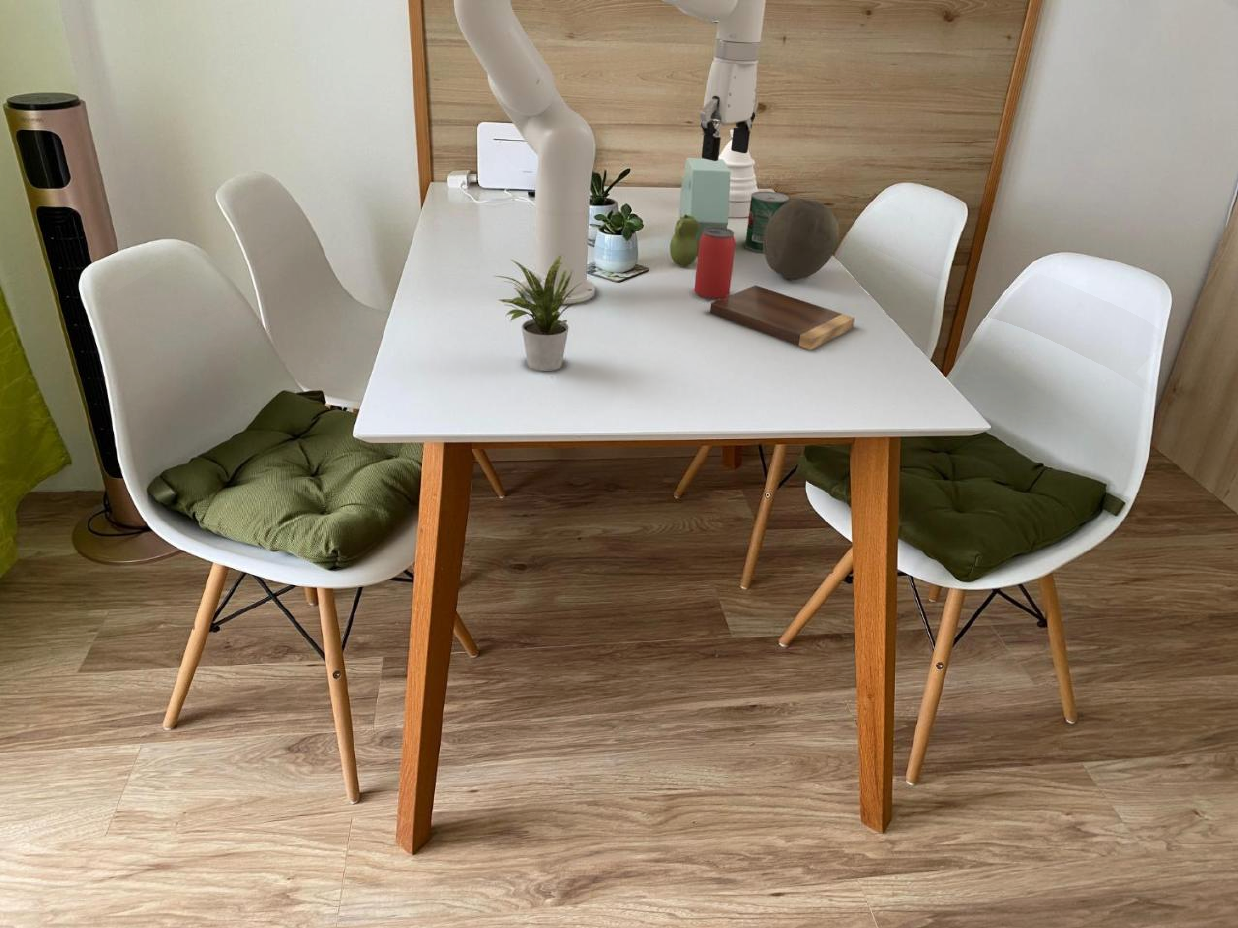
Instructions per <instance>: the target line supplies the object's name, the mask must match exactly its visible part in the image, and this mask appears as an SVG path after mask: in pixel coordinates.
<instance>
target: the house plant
mask: <svg viewBox="0 0 1238 928" xmlns="http://www.w3.org/2000/svg"><path fill="white" fill-rule="evenodd" d="M560 259H561V256H559V257H558V258H557V259H556V261H555V262H554V264H553V265H552V266H551V267H550V269H549V272H548V274H547V277H546V279H545V286H544V291H543V288H542V286H541V284H540V282H539V281H538V279H537V278H536V277H535V276H534V274H532V272H531V270H529V269H528V268H526V267H525V266H523V265H522V264H521V263H520V262H517V261H516V260H512V259H511V261H512V262H513V263H515V264H516V265H517V266H518V267H519V268H520V269H521V271H522V272H523V274H524V277H525V279H527V281H528V283H529V285H530V287H531V289H532V290H530V289H528V288H525V287H524V286H523V285H522V284H521V283H519V282H518V281H519V280H516V279H514V278H511V277H508V276H502V275H493V277H494V278H495V277H496V278H501V279H502V278H503V279H507V280H509V284H513V285H514V287H513V289H514V290H515V291H516V292H517V293H518V295H519V296H517V297H514V298H508V299H507V298H503V299H499V301H500V302H502V303H506V304H505V306H508V307H511V308H514V309H511V310H510V311H508V312H507V313H506V315H505V317H507V316H509V315H512V316H511V318H510V320H509V323H511V322H512V321H513V320H515V319H519V318H520V317H522V316H525V317H526V318H528V316H527V315H529V316H530V317H531V318H529V319H528V320H525V321H523V323H522V324H521V331H522V337H523V342H524V350H525V354H526V361H527V365H528V367H529V368H530V369H532V370H535V371H538V372H553V371H556V370H559V369H560V368H561V367H562V365H563V359H564V353H565V350H566V343H567V339H568V334H569V325H568V323H567V322H568V320H567V319H563V320H561V319H559V318H560V317H561V316H562V314H563V312H565V311H566V310H567V309H568V308H570V307H572V306H575V305H581V304H583V305H586V303H585V301H583V302H576V303H572V304H568V305H567V306H566V307H565V308H564V309H562V311H561V312H560V311H559V310H560V308H561V306H562V305H563V304H562V303H563V301H564V300H565V298H566V297H567V296H568V295H569V294H570V293H571V292H572V291H573V290H574V289H575V288H576V287H577V286H578V285H577V286H575V287H574V288H573V289H572V290H571V291H570V292H569V293H568V294H567V295H566V296H565V297H564V298H563V296H564V294H565V292H566V291H567V290H566V291H565V289H566V287H567V285H568V283H569V281H570V278H571V275H572V271H573V270H572V271H571V273H570V275H569V277H568V278H567V279H566V281H565V284H564V286H563V288H562V290H561V292H560V289H561V286H562V284H563V281H564V279H565V276H566V271H567V266H566V268H565V270H564V272H563V274H562V276H561V280H560V282H559V285H558V287H557V290H556V293H555V294H554V285H555V280H556V276H557V272H558V269H559V266H560V265H561V264H562V263H560ZM530 276H531V277H530ZM531 279H532V280H531ZM511 281H513V282H511ZM532 281H533V282H532ZM514 282H515V283H516V282H517V283H519V284H520V285H522V286H523V288H525V290H526V291H522V292H521V291H520V290H518V289H516V288H515V285H516V284H515V283H514ZM503 283H507V281H503ZM533 283H534V284H533ZM580 284H581V283H580ZM580 284H579V285H580ZM516 286H517V285H516ZM534 286H535V287H534ZM518 287H519V286H518ZM519 288H520V287H519ZM535 288H536V289H535ZM520 289H521V288H520ZM521 290H522V289H521ZM568 291H569V290H568ZM525 292H526V294H527V293H528V294H529V295H530V296H529V295H528V294H527V295H528V296H529V297H531V299H532V301H533V302H534V303H532V301H530V298H529V297H528V296H527V295H526V294H525ZM559 292H560V293H559ZM507 303H508V304H507ZM511 304H512V305H511ZM517 307H519V308H521V309H519V308H517ZM522 309H525V310H522ZM526 310H528V311H529V312H530V313H529V312H528V311H526Z"/></svg>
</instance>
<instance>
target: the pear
mask: <svg viewBox="0 0 1238 928" xmlns="http://www.w3.org/2000/svg"><path fill="white" fill-rule="evenodd" d="M679 219H680V220H679ZM679 219H678V220H677V221H676V224H675V227H674V234H673V236H672V237H671V241H670V244H669V251H670V257H671V260H672V261H673V262H674V263H675V264H676V265H678V266H681V267H685V266H686V267H687V266H690V265H691V264H693V263H694V262H695V261H696V260H697V258H698V242H697V238H696V233H697V232H698V230H699V225H698V222H697V220H695V219H694V217H693V216H690V215H686V214H685V215H684V217H681V216H680V215H679Z"/></svg>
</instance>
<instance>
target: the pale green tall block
mask: <svg viewBox="0 0 1238 928" xmlns="http://www.w3.org/2000/svg"><path fill="white" fill-rule="evenodd" d="M729 194H730V170H729V168H728V167H727V165H726V163H725V162H724V160H723V159H718V161H712V160H708V159H703V158H702V157H700V158H699V157H686V159H685V164H684V170H683V175H682V181H681V187H680V197H679V217H680V216H681V217H684V215H685V214H686V215H690V216H693V217H694V219H695V220H697V222H698V225H699V230H698V232H697V233H696V238H697V242H698V250H699V242H700V239H701V237H702V235H703V233H704V232H703V231H704V229H706V228H709V227H722V228H727V229H728V226H729V217H728V215H729ZM678 220H680V218H679V219H678Z"/></svg>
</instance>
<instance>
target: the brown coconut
mask: <svg viewBox="0 0 1238 928" xmlns="http://www.w3.org/2000/svg"><path fill="white" fill-rule="evenodd" d="M839 241H840V226H839V223H838V220H837V218H836V216H835V215H834V214H833V212H832V210H831V209H830V208H829V207H828V206H827V205H824V204H823V203H822V202H818V201H812V200H809V199H804V198H799V199H794V200H790V201H788V203H785V204H784V205H782V206H781V207H780V208H779V209H778V210H777V211H776V212H775V213H774V215H773V216H772V217H771V219H770V220H769V222H768V224H767V226H766V230H765V233H764V238H763V249H764V253H763V254H764V258H765V261H766V263H767V265H768V267H769V268H770V269H771V270H772V271H774V273H776V274H778V275H780V276H782V277H783V278H785V279H786V280H789V281H796V280H801V279H806V278H808V277H811V276H813V275H814V274H816V273H817V272H819V271H820V270H821V269H822V268H824V266H825V265H826V264H827V263H828V262H829V261H830V259H831V258H832V256H833V255H834V253H835V251H836V249H837V247H838V244H839Z"/></svg>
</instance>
